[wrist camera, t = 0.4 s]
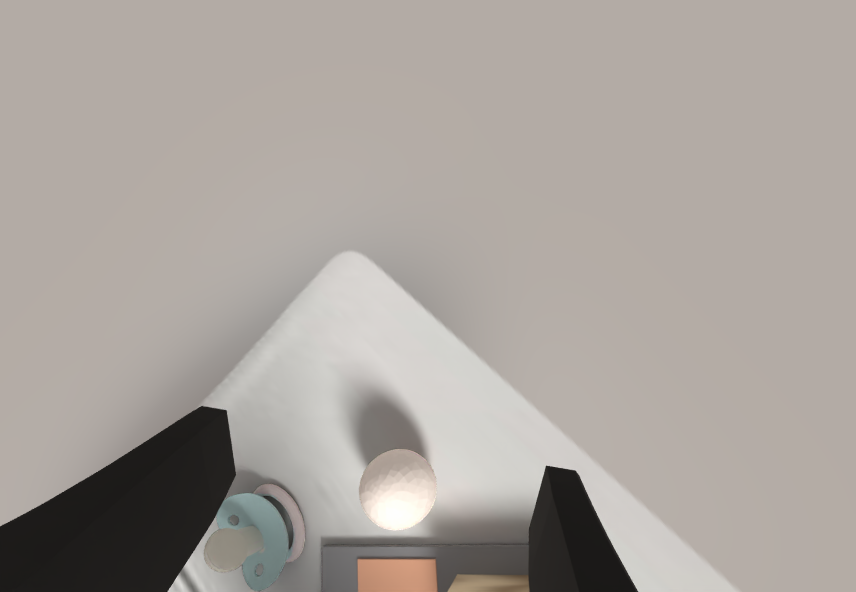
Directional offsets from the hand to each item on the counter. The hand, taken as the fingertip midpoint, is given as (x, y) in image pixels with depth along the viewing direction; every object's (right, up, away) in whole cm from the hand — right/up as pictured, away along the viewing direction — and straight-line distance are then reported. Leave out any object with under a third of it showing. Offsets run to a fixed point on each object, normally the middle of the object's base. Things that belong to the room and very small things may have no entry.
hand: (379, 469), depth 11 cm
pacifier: (-12, -15, +28) cm, 34 cm away
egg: (0, -11, +27) cm, 29 cm away
